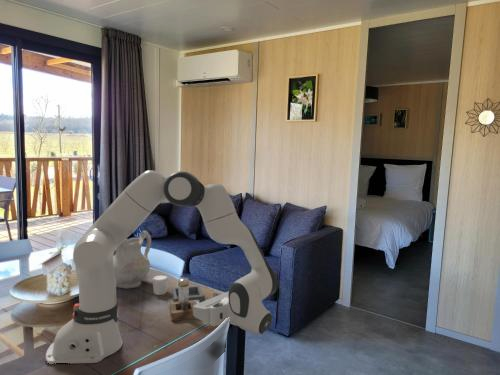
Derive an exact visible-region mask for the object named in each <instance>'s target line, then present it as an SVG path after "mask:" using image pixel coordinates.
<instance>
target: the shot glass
mask: <svg viewBox="0 0 500 375" xmlns="http://www.w3.org/2000/svg"><path fill="white" fill-rule="evenodd" d="M168 278H169V276H167V275H165V274H157V275H154V276H152V277H151V281H152V288H153V290H152V291H153V294H154V295H157V296H160V295H161V296H162V295H165V294H167V291H168V281H169V279H168Z"/></svg>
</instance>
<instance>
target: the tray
mask: <svg viewBox="0 0 500 375" xmlns="http://www.w3.org/2000/svg"><path fill="white" fill-rule="evenodd" d="M171 294H172V295H171V296H172V302H178V287H172V288H171ZM190 300H200V303H201V302H203V301H205V300H204V293H203V291H202V289H201V286H200V285H191V286H190V285H189V301H190Z"/></svg>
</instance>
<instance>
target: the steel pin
mask: <svg viewBox="0 0 500 375" xmlns="http://www.w3.org/2000/svg"><path fill="white" fill-rule="evenodd" d="M189 287H190V279H189V278H188V277H179V278H178V281H177V288H178V310H186V309H189Z"/></svg>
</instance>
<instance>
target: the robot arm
mask: <svg viewBox="0 0 500 375" xmlns="http://www.w3.org/2000/svg"><path fill="white" fill-rule="evenodd" d="M166 200H167V202H169V203H170V204H172V205H174V206H177V207H192V206H195V207H196V208H197V209H198V211H199V213H200V215H201V218H202V221H203V224H204V227H205V230H206V233H207V235H209V238H210V239H211V240H213V241H215V242H216V243H219V244H223V245H224V244H225V245H236V246H237V247H240V249H241V250H242V251H243V253H244V255H245V257H246V259H247V261H248V263H249V265H250V267H251V270H250V273H249V272H248V274H245V275H244V276H242V277H240V278H238V279H236V280H235V281H234V282H233V283H231V284H230V285H229V288H228V291H226V292H219V291H215V292H213V293H212V297H211V298H208V299H206V300H204V301H203V302H201V303H200V300H194V301H193V304H194V306H193V315H194V317H196V318H195V319H197V320H200V321H201V322H205V323H209V324H210V326H211V327H218V326H221V325H220V324H221V323H222V322H223V321H224V320H225V319H226V318H228V317H230V321H229V324H228V325H230V324H231V325H232V326H237V327H239V328H240V329H241V330H243V331H246V332H247V333H251V334H254V335H263V334H265V332H266V331H268V330H269V328H270V327H271V325H272V323H273V316H274V315H273V313H271V311H269V310H268V309H267V308H266V307H265V306H264V304H263V302H262V301H263V300H265V299H266V298H268V297H270V296H273V295H274V294H275V293H276V292H277V290H278V285H279V283H278V282H279V281H278V277H277V274H276V272H275V270H274V269H273V268H272V267H271V266H270V264H269V262H268V260H267V258H266V256H265V254H264V252H263V250H262V248H261V246H260V245H259V243H258V240H257V238H256V237H255V235H254V233H253V232H252V230H251V229H250V227H249V226H247V225H246V224H244V223H243V221H241V219H240V218H239V216H238V215H239V214H238V213H237V210H236V208H235V205H234V202H233V201H232V198H231V196H230V194H229V193H228V191H227V189H226V188H225V186H224V185H223V184H221V183H210V184H205V185H204V184H203V183H202V182H201V181H200V180H199V179H198V177H196V175H195V174H193V173H191V172H188V171H175V172H173V173H171V174H170V175H169V176H168V177H167V176H164V175H163V174H162V173H160V172H158V171H157V170H150V169H149V170H145V171H144V172H143V173H141V174H140V175H138V176H137V177H136V178H135V179H134V180H132V181H131V183H129V184H128V185H127V186H126V187H125V189H124V190H123V191H122V192H121V193H120V194H119V195H118V196H117V198H115V199H114V201H112V203H111V204H110V205H109V206H108V208H106V210H105V211H104V212H103V213H102V214H101V215H100V216H99V217H98V218H97V219H96V220H95V222H94V223H92V225H91V226H90V227H89V228H88V229H87V231H86V232H84V234H83V235H82V236H81V237H80V238H79V239H78V241H77V242H76V243H75V245H74V248H73V252H72V259H73V263H74V267H75V272H76V277H77V282H78V283H77V284H78V298H79V299H78V302H79V303H75V304H74V305H73V308H72V309H73V310H72V319H71V320H69V321H68V322H67V323H65V324H64V325H63V326H62V327H60V328H59V330H58V331H57V333H56V334H55V337H54V340H53V342H52V343H51V344H50V345H49V347H48V348H47V349H46V352H45V362H46V361H47V362H46V364H48V363H49V364H48V365H57V364H56V363H68V364H69V363H70V364H71V365H72V364H95V363H100V362H101V361H102V360H103V359H105V358H106V357H109V356H111V355H113V354H115V353H117V351H119V350H120V349H121V348H122V346H123V343H124V342H123V339H122V337H121V336H122V335H121V332H120V329H119V322H118V321H119V313H120V312H119V303H118V301H117V287H116V283H117V282H116V278H115V272H114V263H113V257H114V255H115V253H116V249H117V248H118V247H119V246H120V245H121V243H122V242H123V241H124V240H125V239H128V238H129V237H130V236H131V235H132V234H133V233H134V232H135V231H136V230H137V229H138V228H139V227H140V226H141V225H142V223H143V222H144V221H145V220H146V219H147V218H148V217H149V216H150V215H151V213H152V212H153V211H154V210H155V209H156V207H157V206H158V205H160V203H162V202H163V201H166ZM54 363H55V364H54ZM68 364H67V365H68Z"/></svg>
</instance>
